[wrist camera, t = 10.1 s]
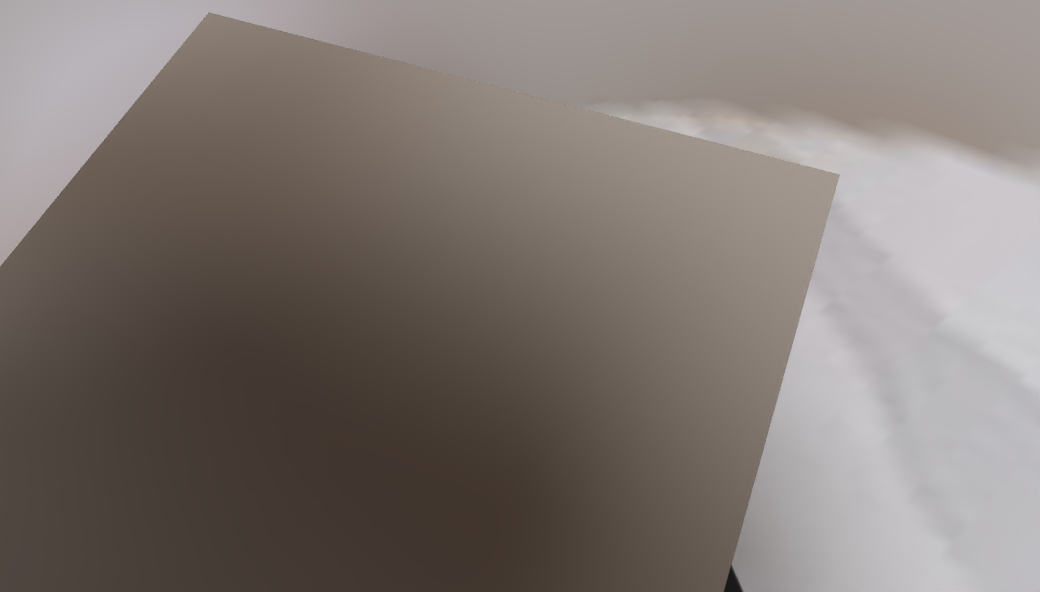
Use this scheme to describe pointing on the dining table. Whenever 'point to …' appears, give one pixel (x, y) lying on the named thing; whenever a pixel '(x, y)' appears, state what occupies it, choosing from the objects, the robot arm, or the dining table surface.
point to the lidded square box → (392, 338)
